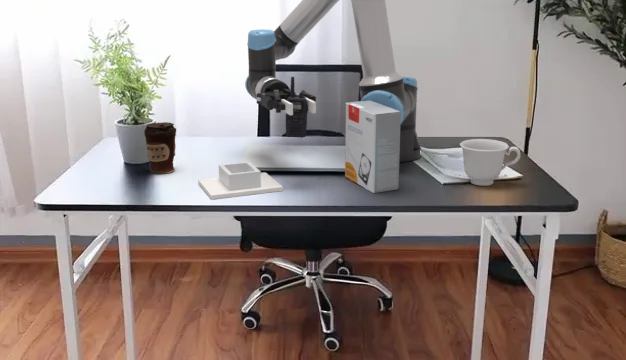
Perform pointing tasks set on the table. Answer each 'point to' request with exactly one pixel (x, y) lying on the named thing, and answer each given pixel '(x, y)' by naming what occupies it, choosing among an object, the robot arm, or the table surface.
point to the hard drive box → (372, 145)
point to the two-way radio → (297, 114)
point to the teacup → (485, 159)
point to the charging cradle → (239, 181)
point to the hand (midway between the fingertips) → (303, 108)
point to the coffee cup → (160, 146)
